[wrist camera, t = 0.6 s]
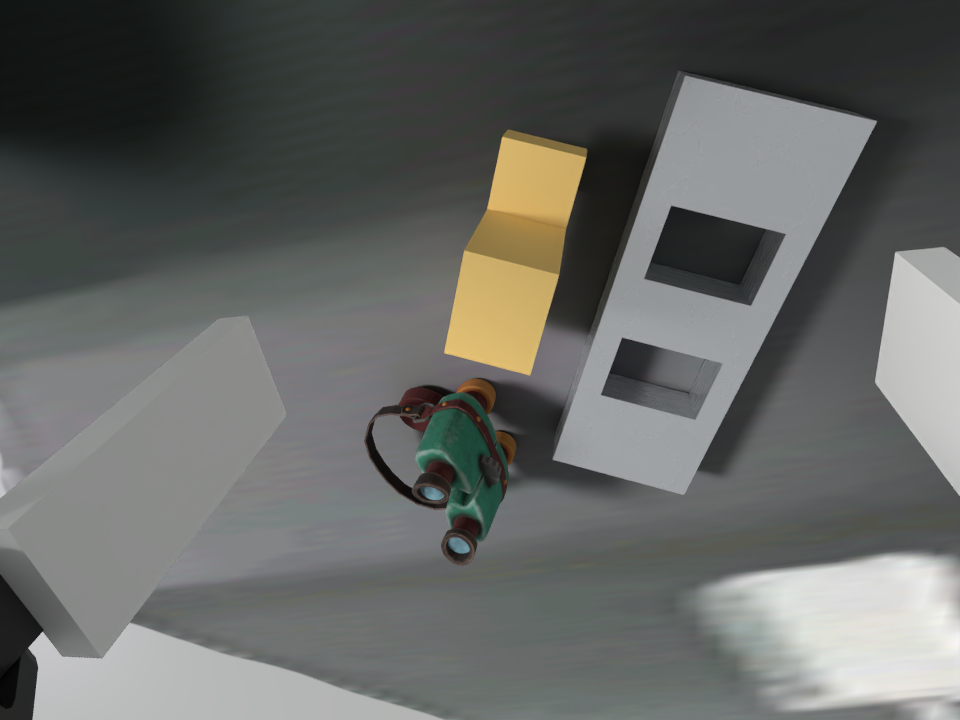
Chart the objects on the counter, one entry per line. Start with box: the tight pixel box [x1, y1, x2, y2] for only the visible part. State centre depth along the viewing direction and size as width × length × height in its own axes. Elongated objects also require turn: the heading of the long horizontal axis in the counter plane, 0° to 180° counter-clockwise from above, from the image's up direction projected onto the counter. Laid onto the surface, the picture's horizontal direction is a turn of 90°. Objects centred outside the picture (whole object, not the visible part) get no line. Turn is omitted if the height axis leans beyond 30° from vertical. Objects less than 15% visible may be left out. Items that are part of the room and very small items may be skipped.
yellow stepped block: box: [444, 130, 587, 375], centre depth 31 cm, size 12×4×12 cm, turn 169°
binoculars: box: [364, 379, 516, 565], centre depth 40 cm, size 9×11×10 cm
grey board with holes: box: [553, 70, 877, 495], centre depth 36 cm, size 9×24×3 cm, turn 169°
